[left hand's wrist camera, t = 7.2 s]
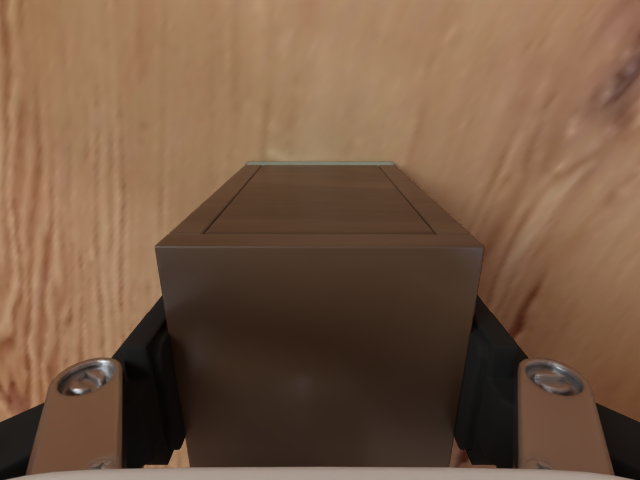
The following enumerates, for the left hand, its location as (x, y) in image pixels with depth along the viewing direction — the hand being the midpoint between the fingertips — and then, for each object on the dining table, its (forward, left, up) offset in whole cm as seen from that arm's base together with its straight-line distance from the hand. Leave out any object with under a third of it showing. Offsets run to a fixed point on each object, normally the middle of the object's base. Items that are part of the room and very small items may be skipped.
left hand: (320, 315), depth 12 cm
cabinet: (+1, +5, -7) cm, 9 cm away
